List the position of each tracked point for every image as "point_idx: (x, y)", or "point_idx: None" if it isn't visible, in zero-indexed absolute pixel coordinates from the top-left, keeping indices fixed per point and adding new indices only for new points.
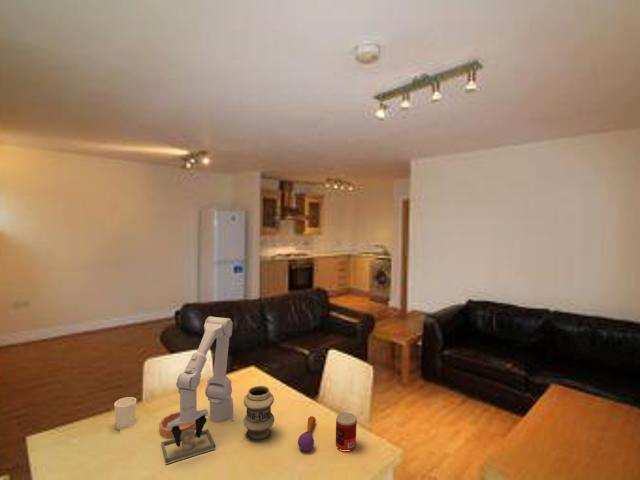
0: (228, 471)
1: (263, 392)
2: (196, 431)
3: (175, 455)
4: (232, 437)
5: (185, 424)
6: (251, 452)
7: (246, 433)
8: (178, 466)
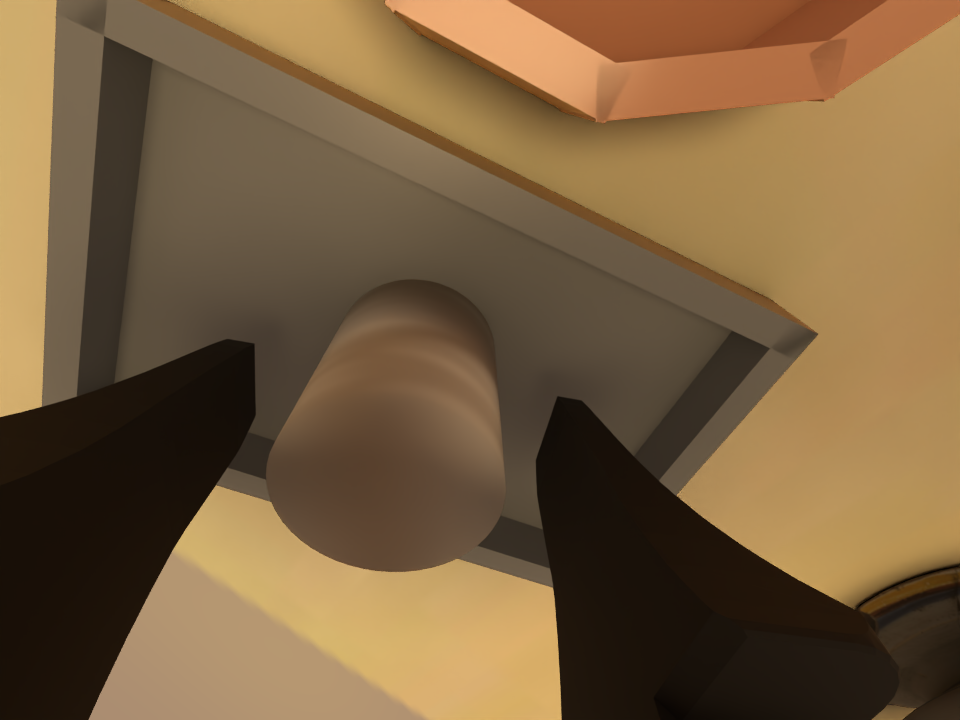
0: (456, 714)
1: None
2: (570, 446)
3: None
4: (816, 527)
5: None
6: None
7: (909, 595)
8: None
